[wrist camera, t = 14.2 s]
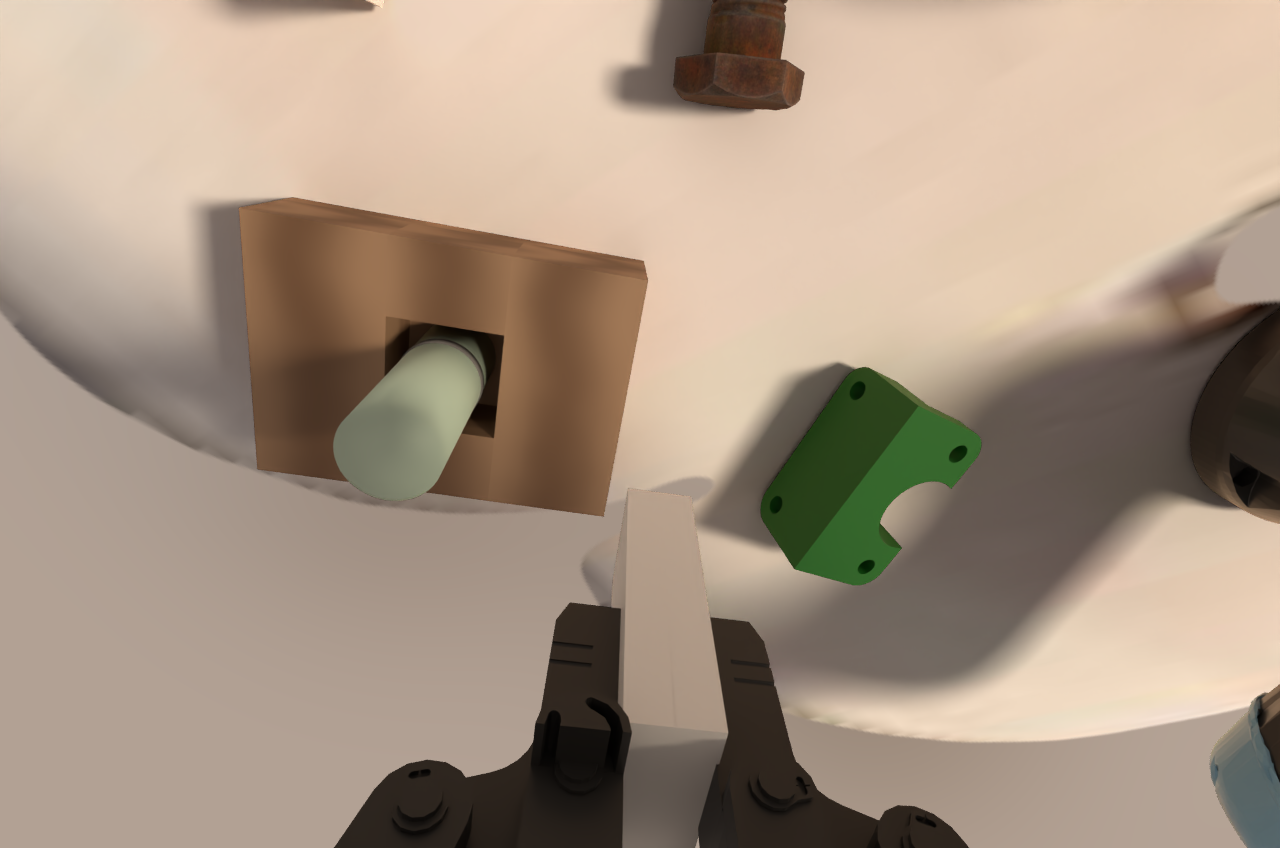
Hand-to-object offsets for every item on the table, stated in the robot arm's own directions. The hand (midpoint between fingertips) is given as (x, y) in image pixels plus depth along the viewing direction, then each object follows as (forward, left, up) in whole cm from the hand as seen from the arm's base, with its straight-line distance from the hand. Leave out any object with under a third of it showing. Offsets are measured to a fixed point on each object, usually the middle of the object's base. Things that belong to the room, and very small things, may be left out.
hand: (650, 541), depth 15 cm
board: (+9, +4, -22) cm, 24 cm away
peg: (+9, +4, -21) cm, 23 cm away
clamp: (-15, +7, -22) cm, 27 cm away
